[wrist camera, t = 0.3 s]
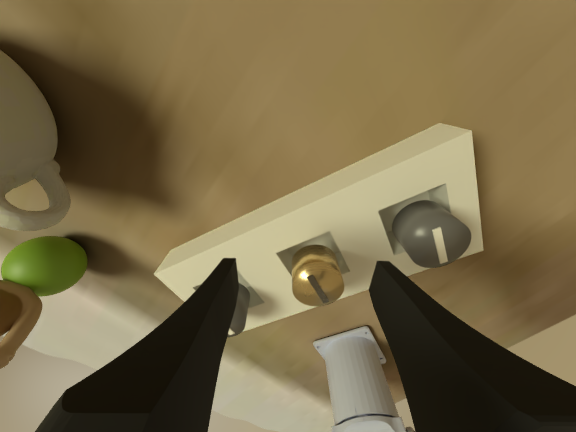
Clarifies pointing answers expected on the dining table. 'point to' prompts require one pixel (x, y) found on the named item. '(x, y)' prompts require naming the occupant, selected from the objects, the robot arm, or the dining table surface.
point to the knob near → (430, 234)
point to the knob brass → (316, 276)
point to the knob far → (240, 312)
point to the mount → (336, 223)
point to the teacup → (27, 149)
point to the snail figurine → (34, 285)
